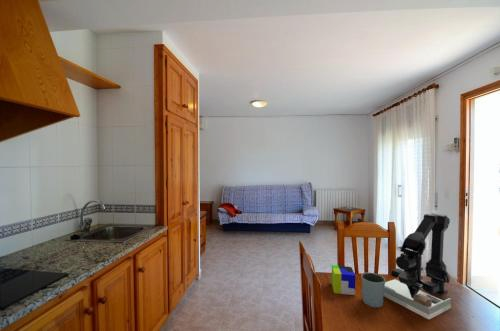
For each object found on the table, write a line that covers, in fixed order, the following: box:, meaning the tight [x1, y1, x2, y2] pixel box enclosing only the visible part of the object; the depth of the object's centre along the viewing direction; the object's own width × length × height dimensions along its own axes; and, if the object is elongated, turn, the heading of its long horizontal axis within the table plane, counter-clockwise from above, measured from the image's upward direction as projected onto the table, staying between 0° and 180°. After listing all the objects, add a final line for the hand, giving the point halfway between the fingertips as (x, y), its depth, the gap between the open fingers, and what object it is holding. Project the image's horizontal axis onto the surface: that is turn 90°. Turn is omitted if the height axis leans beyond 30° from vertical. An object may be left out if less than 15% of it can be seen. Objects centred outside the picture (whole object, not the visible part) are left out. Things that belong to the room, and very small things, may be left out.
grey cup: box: [360, 272, 386, 308], centre depth 115 cm, size 10×10×12 cm
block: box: [413, 293, 432, 308], centre depth 110 cm, size 5×5×3 cm
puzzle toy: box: [331, 264, 356, 296], centre depth 127 cm, size 10×10×10 cm
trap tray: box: [383, 278, 452, 320], centre depth 118 cm, size 18×26×4 cm
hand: (413, 298), depth 114 cm, fingers closed
